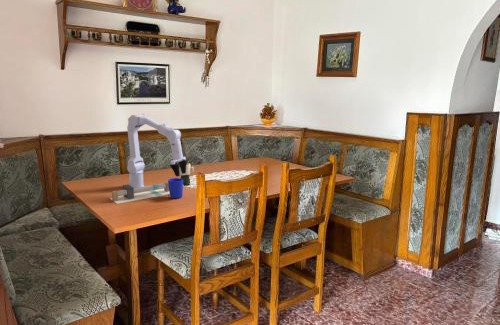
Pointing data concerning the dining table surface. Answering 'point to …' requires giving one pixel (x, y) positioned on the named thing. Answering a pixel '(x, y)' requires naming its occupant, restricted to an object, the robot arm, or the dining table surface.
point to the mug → (175, 187)
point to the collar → (129, 191)
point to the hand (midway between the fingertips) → (180, 174)
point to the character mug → (186, 174)
